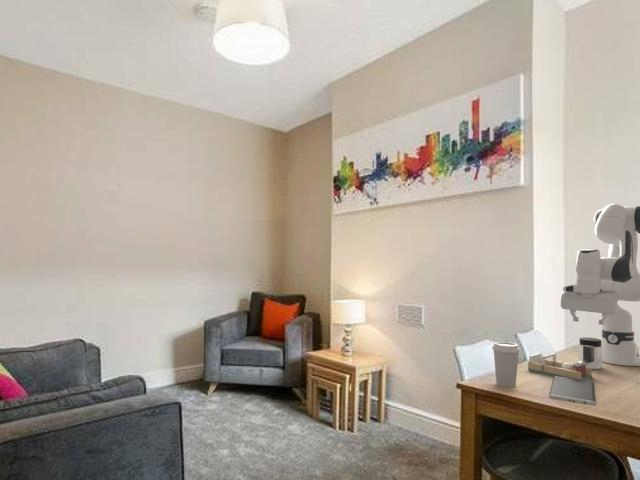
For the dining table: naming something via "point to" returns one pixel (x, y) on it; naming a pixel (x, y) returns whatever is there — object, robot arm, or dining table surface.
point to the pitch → (554, 367)
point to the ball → (567, 366)
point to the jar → (597, 351)
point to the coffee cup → (506, 363)
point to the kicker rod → (585, 359)
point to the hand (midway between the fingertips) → (588, 322)
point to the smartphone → (572, 390)
